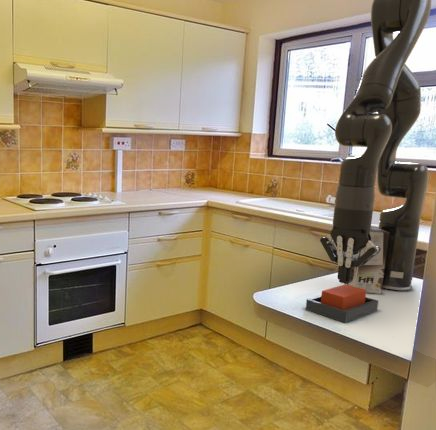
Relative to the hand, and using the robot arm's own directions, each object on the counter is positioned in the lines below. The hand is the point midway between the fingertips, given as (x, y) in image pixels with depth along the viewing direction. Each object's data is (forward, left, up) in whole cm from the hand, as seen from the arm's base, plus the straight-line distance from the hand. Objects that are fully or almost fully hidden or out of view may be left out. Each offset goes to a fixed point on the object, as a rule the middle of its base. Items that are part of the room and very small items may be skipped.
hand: (344, 282), depth 103 cm
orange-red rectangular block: (0, 0, -6) cm, 6 cm away
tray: (0, 0, -7) cm, 7 cm away
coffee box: (-22, -6, -7) cm, 24 cm away
